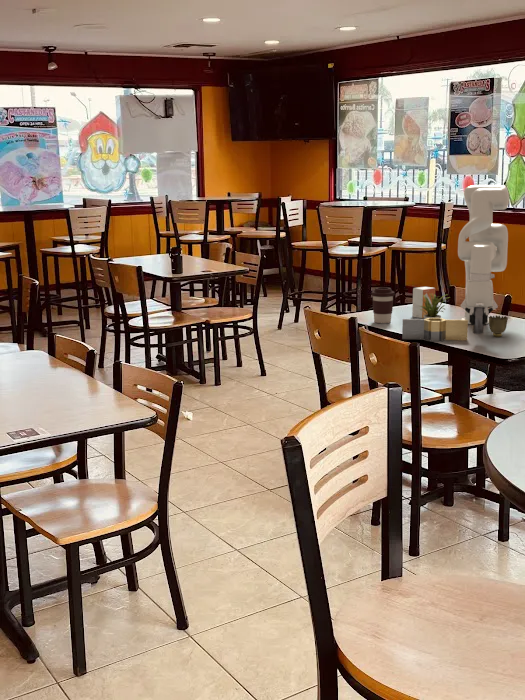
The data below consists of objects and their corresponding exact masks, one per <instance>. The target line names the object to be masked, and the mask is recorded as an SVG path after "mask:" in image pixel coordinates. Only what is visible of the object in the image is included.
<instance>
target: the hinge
mask: <svg viewBox="0 0 525 700" xmlns="http://www.w3.org/2000/svg"><path fill="white" fill-rule="evenodd" d="M468 328H469V324H468V320H461V319H445V318H443V317H441V318H427V319H424V318H417V319H416V318H403V319H402V331H401V334H402V336H401V339H402V340H421V341H422V340H424V341H426V342H431V343H432V342H434V343H435V342H437V343H439V342H444V341H468V330H469V329H468Z"/></svg>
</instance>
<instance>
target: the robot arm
mask: <svg viewBox="0 0 525 700" xmlns="http://www.w3.org/2000/svg"><path fill="white" fill-rule="evenodd" d="M463 195H464V196H463V198H464V201H465V202H464V203H465V204H466V206H467V209H468V213H469V221H468V222H467V223H466V224H465V225H464V226H463V227H462V229H461V230H460V232H459V234H458V240H457V256H458V258H459V260H461V261H463V262H464V267H465V297H464V300H463V301H462V302H461V304H460V306H459V307H460V308H462V309H463V310H464V317H462V318H460V320H468V325H471V326H473V324H474V315H473V311H474V307H484V326H486V325H489V316H490V313H492V312H494V310H496V309H498V307H499V306H498V304H497V302H496V301H495V299H494V285H493V280H492V279H495V275H496V274H494V273H498V272H504V271H505V270H506V268H507V265H508V244H509V243H508V242H509V231H508V228H507V226H506V225H505V224H503V223H502V224H501V223H493V221H494V220H493V216H494V215H493V214H494V213H493V211H494V210H495V211H497V210H498V211H499V210H502V211H503V210H506V209H507V208H508V207H509V203H510V194H509V190H508V187H507V186H506V185H503V184H502V185H501V184H490V185H489V184H476V185H475V184H474V185H469V186H467V187H465V188H464V191H463ZM467 239H468V240H469V241H467ZM492 272H494V273H492ZM476 303H483V304H484V306H475V305H476Z"/></svg>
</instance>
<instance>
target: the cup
mask: <svg viewBox="0 0 525 700" xmlns="http://www.w3.org/2000/svg"><path fill="white" fill-rule="evenodd" d="M488 319H489V323H488V327H489V331H490V332H491V333H492V337H495V338H502V336H503V333H505V331H506V329H507V324H508V319H509V318H508V317H507V316H506V315H505V316H503V315H502V316H500V315H493V316H492V315H489V316H488Z"/></svg>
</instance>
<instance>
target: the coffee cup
mask: <svg viewBox="0 0 525 700" xmlns="http://www.w3.org/2000/svg"><path fill="white" fill-rule="evenodd" d="M371 296H372V312H373V321H374V322H375V323H376V324H389V323H391V322H392V315H393V310H394V309H393V306H394V296H395V291H394V290H392V288H391V287H386V286H385V287H384V286H380V287H379V286H378V287H375V289H374V290H372V291H371Z"/></svg>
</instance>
